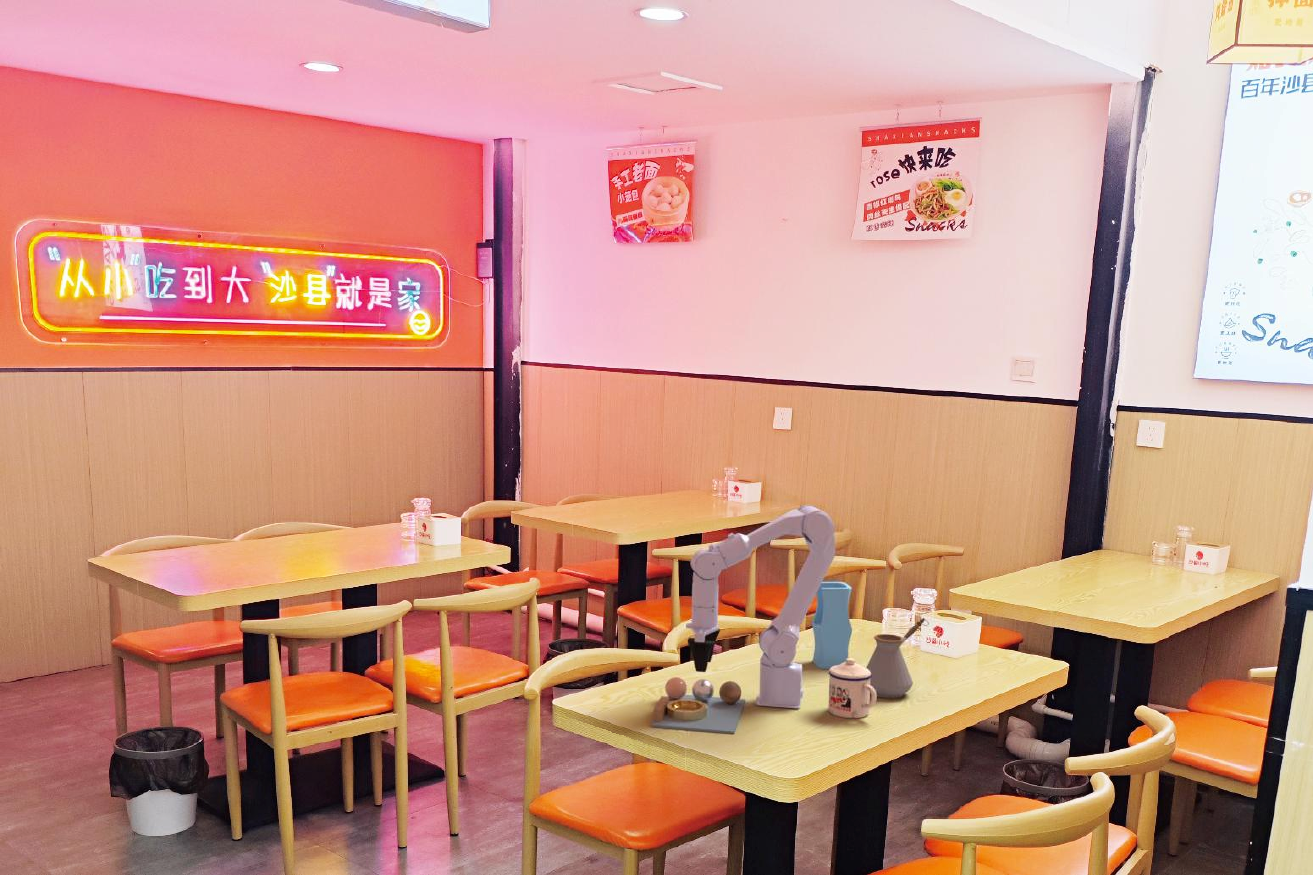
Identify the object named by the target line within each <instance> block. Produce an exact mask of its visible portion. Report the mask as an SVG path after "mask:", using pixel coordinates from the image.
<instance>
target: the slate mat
mask: <svg viewBox="0 0 1313 875" xmlns="http://www.w3.org/2000/svg"><path fill="white" fill-rule="evenodd" d="M681 699H691V700H697V699H695V697H694V696H693V694H685V695H684V696H683V697H682V698H681ZM674 700H675V699H671V698H670V697H669V696H668V695H667V696H664V695H662V696H661V697H659V700H658V701H657V703H656V705H655V706H654V708H653V714H652V715H653V716H652V717H653V718H652V723H651V725H650V727H651V728H656V729H657V728H658V729H672V730H683V731H693V732H706V733H716V734H718V733H719V734H729V735H735V733H736V730H737V727H738V724H739V722H740V718H741V715H742V713H743V710H744V707H745V704H746V699H745V698H744V699H742V698H740V699H739V700H738V701H737V702H736V703H733V704H728V703H725V702H724V701H723V700H722V699H721V698H720V696H719V697H718V696H712V698H711V699H710V700H708V701H705V702H703V703H705V704H706V705H707V716H706V717H705V718H703V719H700V720H695V721H682V720H676V719H672V718H670V717H668V716H667V713H666V704H667V703H669V702H670V701H674ZM677 700H679V699H677ZM697 701H698V700H697Z"/></svg>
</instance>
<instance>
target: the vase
mask: <svg viewBox="0 0 1313 875" xmlns="http://www.w3.org/2000/svg"><path fill="white" fill-rule="evenodd" d="M851 592H852V586H850V585H849V584H847V583H846V582H843V581H822V583H821V585H820V587H819V589H818V591H817V593H816V595H815V596H816V610H815V613H814V616H813V618H812V622H811V623H812V624H811V625H812V631H813V637H814V652H813V658H812V662H813V664H814V665H815V666H816V667H817V668H818V669H822V670H830V668H831V667H833V666H836V665H840V664H842V663H845V662H846V659H847V658H849V646H850V641H851V636H852V633H853V628H852V625H851V622H850V615H849V602H850V596H851Z"/></svg>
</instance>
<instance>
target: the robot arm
mask: <svg viewBox="0 0 1313 875" xmlns="http://www.w3.org/2000/svg"><path fill="white" fill-rule="evenodd" d="M835 532H836V526H835V525H834V522H833V519H832V518H831V516H830V515H829V514H828V513H827V512H826V511H823V510H820V509H818V508H817V507H816V506H814V505H811V504H804V505H802V506H800V507H799V508H795V509H792V510H789V511H788V512H786V513H784V514H783V515H781V516H779V517H777V518H775V519H774V520H772V521H770V522H768V523H766V524H764V525H763V526H761V527H759V528H757V529H755V530H754V531H752V532H750V533H748V534H742V533H740V532H739V533H738V532H737V533H736V534H734V533H733V532H731V533H729V534H728V535H727V538H725V539H724V540H721V541H719V542H718V543H716V544H714V543H710V544H708V545H707V546H708V548H701V549H699V550H697V551H696V552H694V554H693V555H692V556H691V560H690V561H689V562H690V567H691V569H692V570H693V571H694V572H693V573H692V574H693V575H692V584H691V585H692V588H691V589H692V590H691V622H687V623H686V624H685V628H686V629H690V630H691V631H692V632H693V634H694V637H692V638H691V637H688V639H687V644H688V647H689V648H690V650H691V654H692V657H693V663H694V669H695V672H698V673H705V672H706V671H707V668H708V663H711V662H712V659H713V655H714V650H715V644H716V641H717V638H718V636H719V634H720V633H721V629H720V628H719V624H718V622H719V620H718V618H719V576H720V575H721V572H722V570H726V569H728V568H730V567H731V566H734V565H736V564H738V563H740V562H742V561H745V560H746V559H748V558H750V557H751V555H752V553H753V551H754V549H756V548H758V547H760V546H763V545H765V544H767V543H769V542H771V541H774V540H776V539H779V538H781V537H783V536H785V535H791V536H798V537H802V536H803V538H804V540H805V542H806V545H807V548H808V550H809V554H808V556H807V557H806V560H805V562H804V563H803V565H802V568H801V569H800V571H799V574H798V575H797V578H796V579H795V582H794V584H793V586H792V588H791V590H790V592H789V594H788V596H787V598H786V600H785V601H784V604H783V606H782V608H781V610H780V613H779V614H778V615H777V616H776V617H774V618H773V619H772V620H771V622H770V624H769V626H768V627H767V628H765V630H763V631H762V632H761V633H760V636H759V638H758V645H759V646H758V647H759V648H760V650H761V651H762V652H763V653H762V655H761V657H760V660H759V661H760V664H759V693H758V695H757V698H756V701H755V705H756V706H761V707H762V706H763V707H772V708H773V707H774V708H788V709H796V710H797V709H800V708H801V704H802V699H803V696H804V695H803V694H804V692H803V691H804V690H803V664H801V663H796V662H794V659H795V657H796V655H797V644H798V641H799V640H800V628H801V625H802V623H803V620H804V619H805V617H806V615H807V613H808V612H809V609H810V607H811V605H812V603H813V601H814V599H815V597H816V596H817V595H816V593H817V591H818V589H819V587H820V585H821V583H822V582H824V579H825V577H826V575H827V573H828V571H829V568H830V567H831V564H832V562H833V561H834V559H835V556H836V540H835Z"/></svg>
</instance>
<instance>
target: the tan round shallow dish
mask: <svg viewBox="0 0 1313 875" xmlns="http://www.w3.org/2000/svg"><path fill="white" fill-rule="evenodd" d="M666 713H667V716H668V717H670V718H672V719H676V720H682V721H695V720H700V719H703V718H705V717H706V716H707V705H706V704H705V703H703V702H701V701H697V700H691V699H679V700H674V701H670V702H669V703H667V704H666Z"/></svg>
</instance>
